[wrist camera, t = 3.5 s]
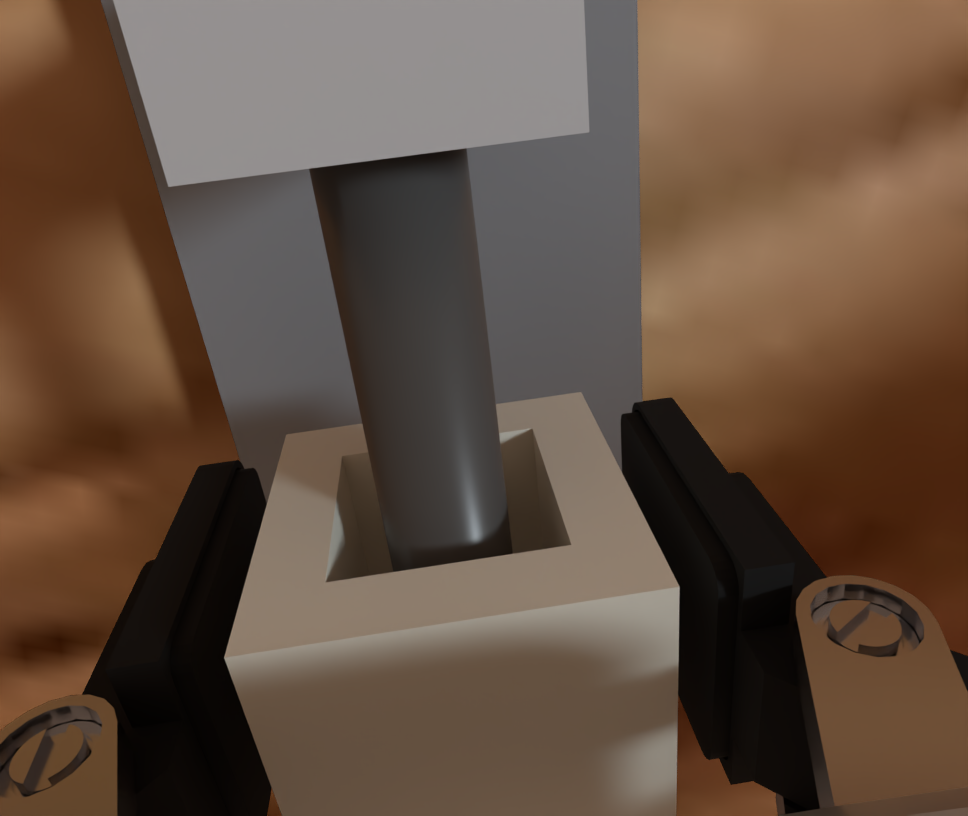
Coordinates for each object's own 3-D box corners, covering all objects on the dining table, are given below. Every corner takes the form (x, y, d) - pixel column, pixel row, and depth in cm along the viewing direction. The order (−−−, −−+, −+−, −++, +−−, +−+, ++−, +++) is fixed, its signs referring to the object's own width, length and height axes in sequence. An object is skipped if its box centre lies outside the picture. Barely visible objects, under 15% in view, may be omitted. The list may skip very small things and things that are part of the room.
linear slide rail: (618, -112, 12) (1108, -430, 4) (640, 911, 25) (759, 1346, 17) (106, -53, 12) (-608, -255, 3) (400, 953, 24) (400, 1418, 16)
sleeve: (581, 392, 10) (679, 587, 7) (593, 614, 12) (674, 860, 8) (286, 434, 10) (224, 658, 6) (344, 653, 12) (320, 921, 8)
